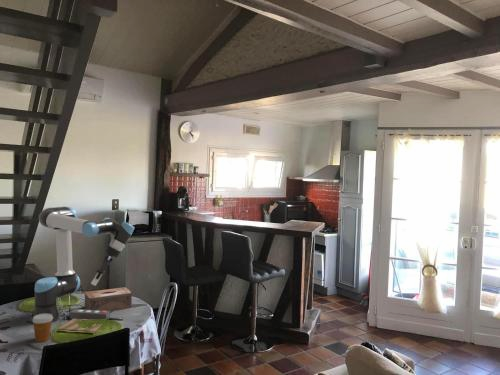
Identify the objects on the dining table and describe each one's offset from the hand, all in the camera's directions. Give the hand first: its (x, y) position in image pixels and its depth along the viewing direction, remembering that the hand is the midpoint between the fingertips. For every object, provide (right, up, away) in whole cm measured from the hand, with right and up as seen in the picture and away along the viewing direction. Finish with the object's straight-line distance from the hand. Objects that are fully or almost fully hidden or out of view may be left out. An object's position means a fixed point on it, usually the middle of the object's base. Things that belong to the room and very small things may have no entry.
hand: (93, 283), depth 217 cm
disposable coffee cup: (-22, -26, -12) cm, 36 cm away
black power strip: (-6, -25, +20) cm, 33 cm away
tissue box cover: (-6, -25, +40) cm, 48 cm away
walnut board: (-8, -26, +6) cm, 27 cm away
